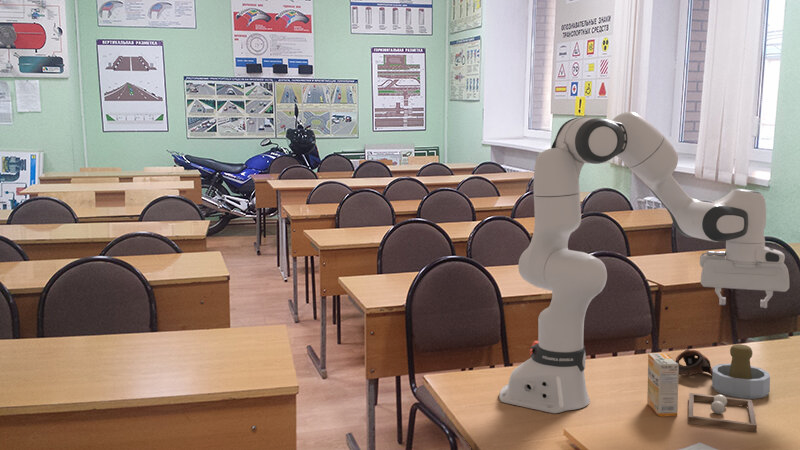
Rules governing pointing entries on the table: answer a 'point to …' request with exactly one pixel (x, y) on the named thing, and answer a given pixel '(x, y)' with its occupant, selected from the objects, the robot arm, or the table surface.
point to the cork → (740, 361)
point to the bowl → (741, 383)
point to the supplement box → (663, 384)
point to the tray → (720, 422)
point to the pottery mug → (693, 363)
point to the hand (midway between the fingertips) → (742, 305)
